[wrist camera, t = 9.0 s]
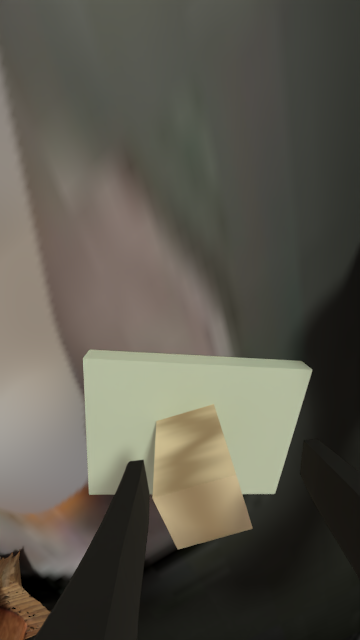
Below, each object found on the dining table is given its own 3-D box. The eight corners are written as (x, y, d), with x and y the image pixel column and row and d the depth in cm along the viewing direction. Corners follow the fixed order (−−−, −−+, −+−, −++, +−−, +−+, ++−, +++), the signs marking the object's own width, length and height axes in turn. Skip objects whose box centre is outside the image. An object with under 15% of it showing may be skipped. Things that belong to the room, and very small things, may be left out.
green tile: (301, 361, 19) (312, 369, 18) (268, 478, 23) (274, 493, 22) (89, 349, 18) (82, 358, 16) (94, 478, 22) (89, 494, 20)
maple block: (213, 404, 18) (236, 474, 12) (227, 448, 20) (252, 528, 14) (156, 421, 18) (152, 498, 13) (174, 463, 20) (177, 549, 14)
